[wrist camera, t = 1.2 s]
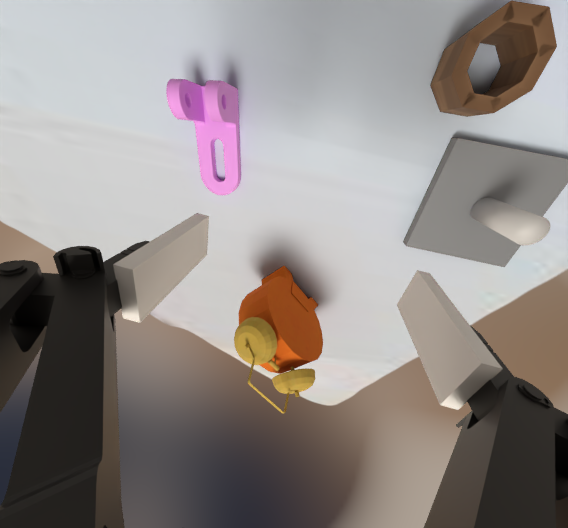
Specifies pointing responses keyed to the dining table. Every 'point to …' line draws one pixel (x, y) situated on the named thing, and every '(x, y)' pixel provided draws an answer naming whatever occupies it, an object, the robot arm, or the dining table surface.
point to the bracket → (211, 127)
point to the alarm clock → (280, 333)
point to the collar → (512, 55)
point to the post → (487, 202)
